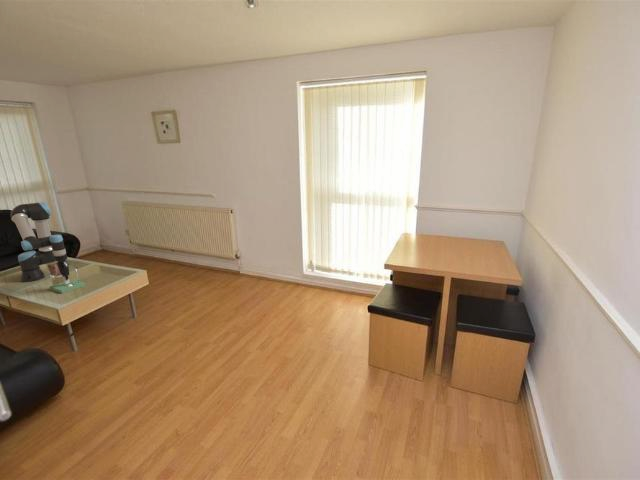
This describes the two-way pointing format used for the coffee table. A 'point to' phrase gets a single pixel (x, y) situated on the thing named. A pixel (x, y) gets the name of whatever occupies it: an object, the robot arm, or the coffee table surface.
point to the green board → (64, 287)
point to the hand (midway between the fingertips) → (67, 283)
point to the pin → (76, 272)
